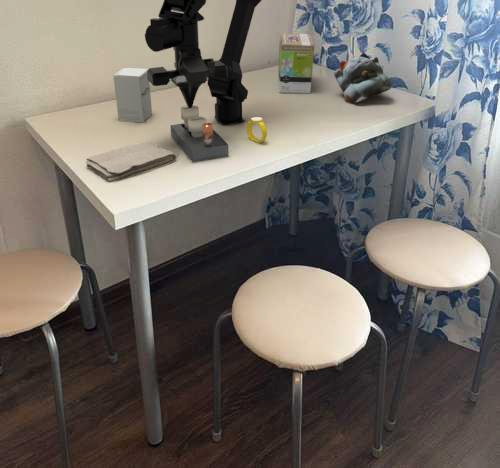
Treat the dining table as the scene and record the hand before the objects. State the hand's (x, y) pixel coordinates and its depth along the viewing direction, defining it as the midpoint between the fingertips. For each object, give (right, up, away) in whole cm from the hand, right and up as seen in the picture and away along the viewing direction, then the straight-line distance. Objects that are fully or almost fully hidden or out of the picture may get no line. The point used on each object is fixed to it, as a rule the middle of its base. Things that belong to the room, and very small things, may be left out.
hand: (189, 107), depth 143 cm
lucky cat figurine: (+48, +9, +31) cm, 58 cm away
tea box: (+29, +15, +40) cm, 52 cm away
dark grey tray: (+2, -10, -1) cm, 10 cm away
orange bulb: (+5, -11, -8) cm, 14 cm away
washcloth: (-13, -16, -9) cm, 22 cm away
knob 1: (0, -5, +3) cm, 6 cm away
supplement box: (-17, +1, +16) cm, 23 cm away
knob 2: (+2, -8, -1) cm, 9 cm away
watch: (+17, -8, +3) cm, 19 cm away
